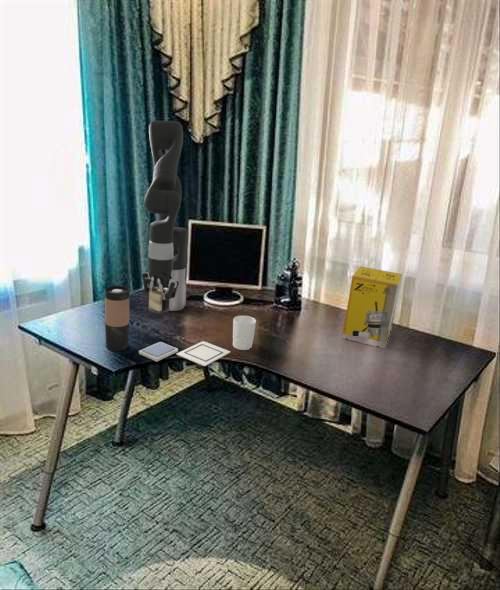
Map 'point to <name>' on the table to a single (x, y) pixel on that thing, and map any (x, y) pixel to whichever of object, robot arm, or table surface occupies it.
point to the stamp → (156, 302)
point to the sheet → (203, 353)
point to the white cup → (243, 332)
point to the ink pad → (158, 351)
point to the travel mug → (117, 317)
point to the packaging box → (372, 303)
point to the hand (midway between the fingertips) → (159, 307)
